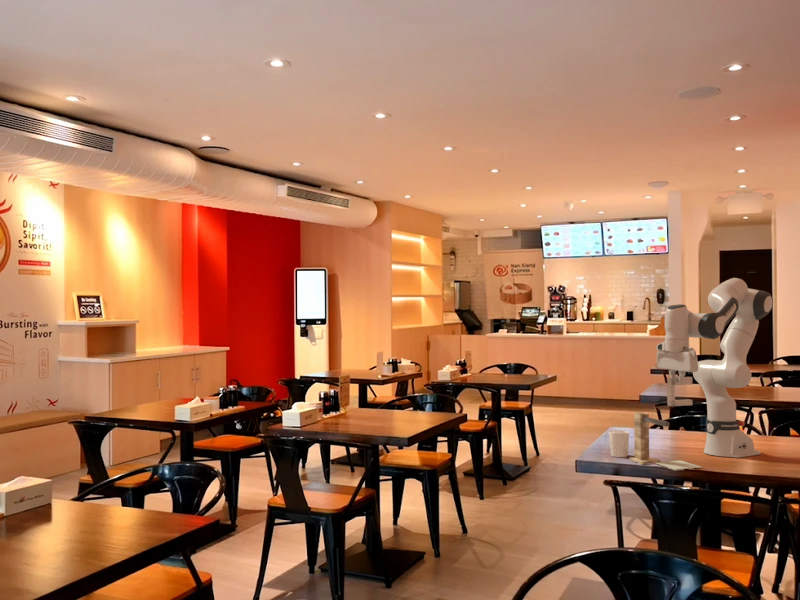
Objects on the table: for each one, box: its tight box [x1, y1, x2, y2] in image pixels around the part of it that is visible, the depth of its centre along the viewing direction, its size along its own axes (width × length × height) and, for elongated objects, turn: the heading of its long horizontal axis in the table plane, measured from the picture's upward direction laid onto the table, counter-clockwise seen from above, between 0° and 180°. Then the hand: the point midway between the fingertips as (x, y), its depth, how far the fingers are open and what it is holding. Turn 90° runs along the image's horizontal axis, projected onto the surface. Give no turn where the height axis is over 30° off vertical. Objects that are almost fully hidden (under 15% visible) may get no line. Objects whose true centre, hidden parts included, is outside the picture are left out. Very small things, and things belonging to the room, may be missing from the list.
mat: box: [655, 460, 703, 472], centre depth 277 cm, size 12×12×1 cm
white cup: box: [608, 429, 630, 458], centre depth 297 cm, size 8×8×10 cm
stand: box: [628, 412, 670, 465], centre depth 281 cm, size 9×18×19 cm, turn 17°
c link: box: [666, 376, 693, 407], centre depth 278 cm, size 10×2×11 cm, turn 107°
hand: (677, 382), depth 277 cm, fingers closed on c link, 2 cm apart
